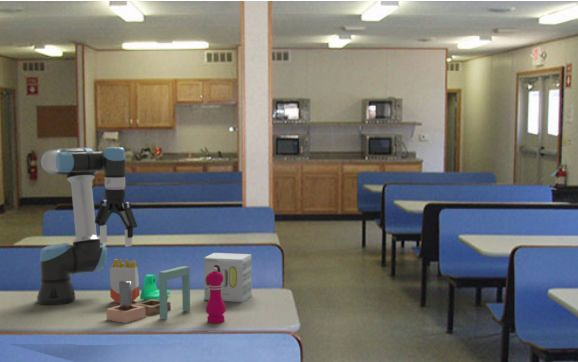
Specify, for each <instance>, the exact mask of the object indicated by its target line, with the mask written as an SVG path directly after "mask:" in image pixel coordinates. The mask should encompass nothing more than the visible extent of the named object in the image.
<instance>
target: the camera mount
mask: <svg viewBox="0 0 578 362" xmlns="http://www.w3.org/2000/svg"><path fill="white" fill-rule="evenodd" d="M157 280H158V277H157V275H156V274H146V275H145V277H144V281H143V284H142V289H141V292H140V294H139V296H140V298H139V299H140V300H143V301H147V300H150V299H155V300H159V289H158V287H157V282H158V281H157ZM170 294H171V293H170V290H168V289H167V296H170Z"/></svg>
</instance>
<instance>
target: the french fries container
mask: <svg viewBox="0 0 578 362" xmlns="http://www.w3.org/2000/svg"><path fill="white" fill-rule="evenodd" d="M124 261H125V263H124V262H122V259H121V258H120V259H118V258H114V260H113V264H110V266H109V283H110V285H109V289H110V290H109V291H110V294H109V295H110V298H111V299H112V300H113V301H114V302H115V303H116V304H120V292H119V282H120V281H123V280H130V281H131V287H132V302H133V301H135V300H136V299H137V298H138V297H139V296H140V281H139V280H140V279H139V271H138V264H136V263H137V261H136V260H132V261H129V259H125V260H124Z"/></svg>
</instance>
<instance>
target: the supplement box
mask: <svg viewBox="0 0 578 362" xmlns="http://www.w3.org/2000/svg"><path fill="white" fill-rule="evenodd" d="M203 260H204V261H203V262H204V263H203V267H204V269H203V278H204V279H203V280H204V284H203V285H204V287H203V288H204V296H203V297H204V298H203V299H204V301H209V298H210V289H209V283H208V281H207V276H208V274H209V273H210V272H213V268H214V267H216V268H217V269H218V270H217V271H218V272H220V273H222V275H223V278H224V279H223V282H222V283H221V284H222V289H221V297H222V300H223V302H231V303H232V302H233V303H244V302H246V300H248V299H250V297H252V296H253V284H252V282H253V281H252V280H253V279H252V272H253V271H252V254H251V253H250V254H249V253H235V252H233V253H231V252H229V253H228V252H227V253H226V252H213V253H211V254H209V255H207V256H205V257H204V258H203Z"/></svg>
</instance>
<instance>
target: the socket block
mask: <svg viewBox="0 0 578 362" xmlns="http://www.w3.org/2000/svg"><path fill="white" fill-rule="evenodd" d="M133 305H138V306H143V307H145V315H148V314H149V316H154V314H155V315H157V313H158V314H160V301H159V300H155V299H150V300H143V301H140V302H136V303H133ZM171 308H172V307H171V301H167V312H169V311H171Z"/></svg>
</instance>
